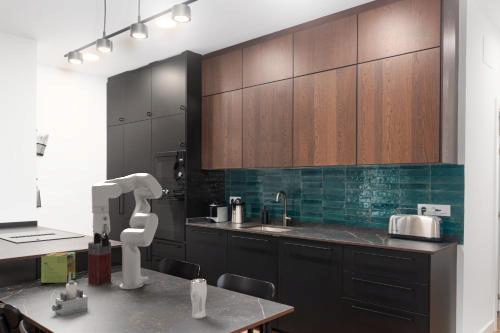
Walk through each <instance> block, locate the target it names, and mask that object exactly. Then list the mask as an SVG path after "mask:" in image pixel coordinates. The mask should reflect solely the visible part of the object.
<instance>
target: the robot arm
mask: <svg viewBox="0 0 500 333" xmlns="http://www.w3.org/2000/svg"><path fill="white" fill-rule="evenodd" d="M129 192H133V195H134V199H135V208H134V209H133V212H132V214H131V217H130V220H129V226H130V228H126V229H124V230H122V232H121V233H120V235H119V237H120V238H119V239H120V246H121V254H122V256H121V258H122V259H121V261H122V262H121V264H122V265H121V266H122V267H121V268H122V269H121V270H122V272H121V274H122V282H121V283H120V284H119V289H121V290H133V289H139V288H141V287H143V286H144V281H149V276H142V275H141V252H140V249H139V247H148V246H150V245H151V243H152V242H153V239H154V236H155V235H156V232H157V228H158V226H159V217H158V215H157V214H156V213H155V212H154V213H153V212H151V205H150V204H149V202H148V200H151V199H152V200H154V199H159V198H161V197H162V196H163V188H162V185H161V184H160V183H159V182H158V181H157V179H156V178H155V177H154V175H152V174H151V173H133V174H129V175H127V176H124V177H119V178H118V177H117V178H114V179H108V180H103V181H100V182H97V183H95V184H92V186H91V214H92V232H93V234H92V235H93V242H94V244H99V243H101V237H100V234H102V237H103V238H102V247H105V246H109V241H110V233H111V220H110V214H109V210H110V209H109V208H110V206H109V205H110V204H109V199H116V198H118V197H120V196H121V195H122V194H126V193H129ZM147 199H148V200H147Z"/></svg>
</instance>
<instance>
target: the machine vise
mask: <svg viewBox="0 0 500 333" xmlns="http://www.w3.org/2000/svg"><path fill="white" fill-rule="evenodd" d="M59 294H60V295H59V296H60V297H55V304H53V305H52V306H51V310H52V312H56V313H57V314H58V315H60V316H61V317H64V316H68V315H72V314H76V313H81V312H84V311H87V310H88V304H89V303H88V299H89V298H88V297H89V296H87V295H85V294H84V291H83V290H81V289H80V288H77V297H76V298H72V299H67V294H66V292H64V291H61V292H60V293H59ZM88 311H89V310H88Z"/></svg>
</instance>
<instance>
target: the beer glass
mask: <svg viewBox="0 0 500 333" xmlns="http://www.w3.org/2000/svg"><path fill="white" fill-rule="evenodd" d="M189 290H190V293H189V294H190V298H191V299H190V301H191V305H192V311H191V318H192V319H196V320H199V319H204V318H206V317H207V313H206V312H207V311H206V301H207V291H208V287H207V280H206V279H204V278H194V279H192V280H190V288H189Z"/></svg>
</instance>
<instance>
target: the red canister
mask: <svg viewBox="0 0 500 333" xmlns="http://www.w3.org/2000/svg"><path fill="white" fill-rule="evenodd" d="M100 237H101V243H99V244H94V241H89V242H88V243H87V247H88V248H87V254H88V255H87V263H88V264H87V265H88V267H87V269H88V270H87V272H88V273H87V276H88V279H87V282H88V284H89V285H92V284H93V286H101V285H106V284H109V283H111V282H112V242H111V241H110V240H109V246H105V247H102V238H103V237H102V234H100Z"/></svg>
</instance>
